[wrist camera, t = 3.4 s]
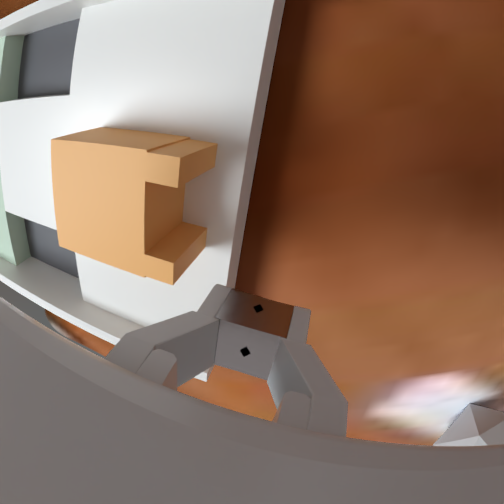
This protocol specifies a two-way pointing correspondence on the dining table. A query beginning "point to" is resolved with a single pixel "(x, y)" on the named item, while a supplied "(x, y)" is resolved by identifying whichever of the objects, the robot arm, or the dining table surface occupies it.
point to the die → (475, 428)
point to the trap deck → (132, 118)
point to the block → (129, 198)
